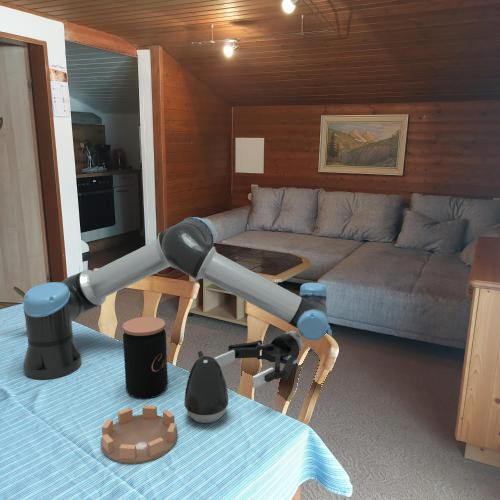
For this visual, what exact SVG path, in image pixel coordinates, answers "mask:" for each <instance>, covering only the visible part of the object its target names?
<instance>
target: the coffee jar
mask: <svg viewBox="0 0 500 500" xmlns="http://www.w3.org/2000/svg"><path fill="white" fill-rule="evenodd" d="M165 328H166V321H165V320H164V319H163V318H160V317H156V316H140V317H135V318H134V317H133V318H132V319H131V318H130V319H129V320H127V321H125V322H124V323H123V324H122V331H123V332H124V333H123V334H122V341H123V342H122V343H123V344H122V345H123V357H124V358H123V359H124V374H125V377H124V378H125V390H126V392H128V393H129V395H130V396H132V397H134V398H136V399H151V398H155V397H157V396H159V395H161V394H163V393H164V391H165V390H166V389H167V386H168V384H169V382H168V381H169V379H168V354H167V350H168V349H167V333H166V329H165Z"/></svg>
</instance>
